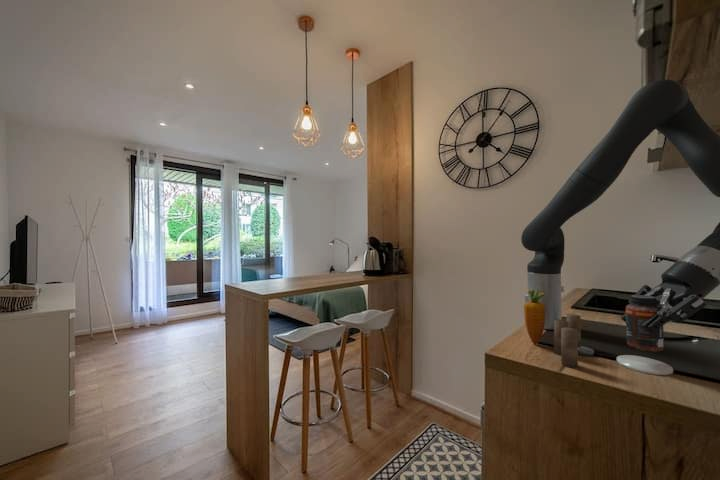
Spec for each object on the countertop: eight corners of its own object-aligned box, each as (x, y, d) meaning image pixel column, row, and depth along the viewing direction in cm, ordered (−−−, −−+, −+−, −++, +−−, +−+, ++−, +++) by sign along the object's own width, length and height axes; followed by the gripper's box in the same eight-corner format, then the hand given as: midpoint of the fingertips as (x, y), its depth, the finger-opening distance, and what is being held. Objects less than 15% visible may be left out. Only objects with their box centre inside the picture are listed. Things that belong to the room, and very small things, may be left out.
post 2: (564, 344, 78) (563, 314, 78) (571, 343, 80) (570, 313, 80) (576, 348, 76) (575, 317, 76) (583, 346, 77) (583, 316, 77)
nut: (597, 357, 70) (597, 352, 70) (578, 354, 71) (579, 349, 71) (587, 351, 74) (587, 346, 74) (569, 349, 75) (570, 344, 75)
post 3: (558, 363, 67) (558, 328, 67) (567, 361, 68) (566, 326, 68) (572, 369, 64) (571, 332, 64) (581, 366, 65) (580, 330, 65)
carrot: (536, 340, 82) (535, 286, 82) (550, 347, 77) (549, 289, 77) (520, 341, 81) (519, 287, 81) (533, 348, 76) (532, 290, 76)
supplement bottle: (672, 353, 61) (670, 299, 61) (638, 351, 63) (637, 298, 63) (650, 343, 67) (649, 293, 67) (620, 342, 68) (618, 293, 68)
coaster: (607, 361, 67) (607, 359, 67) (629, 355, 71) (629, 352, 71) (659, 378, 59) (659, 375, 59) (682, 370, 63) (682, 367, 63)
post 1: (551, 352, 73) (551, 320, 73) (559, 350, 75) (558, 318, 75) (563, 356, 71) (563, 323, 71) (571, 354, 72) (571, 321, 72)
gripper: (656, 257, 71) (601, 306, 73) (715, 262, 56) (645, 322, 59) (683, 279, 70) (626, 328, 72) (750, 290, 55) (677, 350, 58)
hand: (635, 325), depth 65 cm, fingers closed on supplement bottle, 6 cm apart
